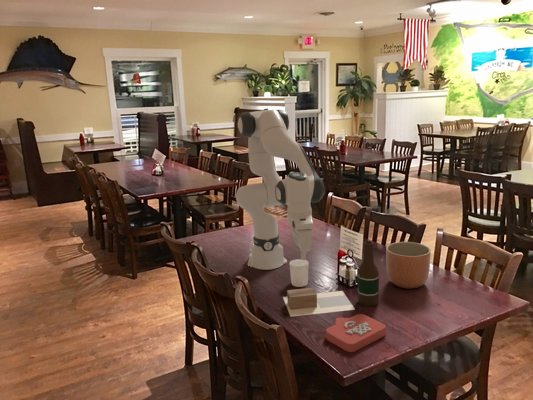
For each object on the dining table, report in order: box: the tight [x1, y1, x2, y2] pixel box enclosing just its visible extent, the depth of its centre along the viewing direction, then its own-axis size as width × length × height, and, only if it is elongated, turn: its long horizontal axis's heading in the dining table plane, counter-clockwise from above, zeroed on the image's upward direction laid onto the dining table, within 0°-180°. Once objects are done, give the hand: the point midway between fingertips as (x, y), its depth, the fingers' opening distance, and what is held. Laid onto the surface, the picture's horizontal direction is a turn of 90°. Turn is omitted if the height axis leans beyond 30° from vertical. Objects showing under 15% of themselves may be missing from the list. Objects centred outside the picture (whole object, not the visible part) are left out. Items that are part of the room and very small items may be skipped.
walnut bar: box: [286, 287, 317, 310], centre depth 169 cm, size 6×10×5 cm, turn 98°
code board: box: [282, 290, 356, 317], centre depth 171 cm, size 16×24×1 cm, turn 98°
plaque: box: [325, 313, 387, 353], centre depth 150 cm, size 18×4×15 cm
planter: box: [385, 241, 432, 290], centre depth 184 cm, size 17×17×15 cm
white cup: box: [289, 258, 310, 288], centre depth 188 cm, size 8×8×10 cm
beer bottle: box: [357, 240, 380, 307], centre depth 168 cm, size 8×8×24 cm
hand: (300, 254), depth 165 cm, fingers open, 8 cm apart
